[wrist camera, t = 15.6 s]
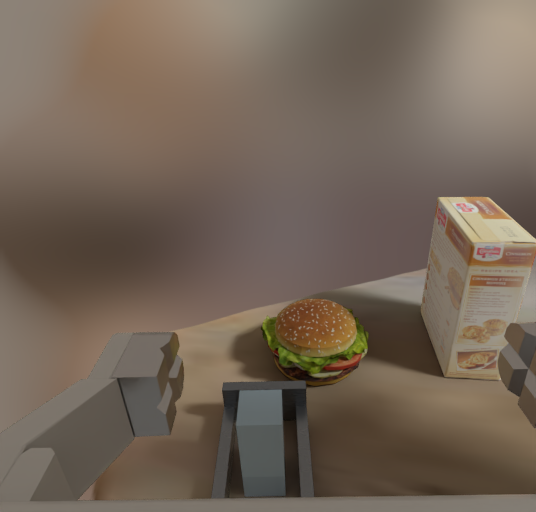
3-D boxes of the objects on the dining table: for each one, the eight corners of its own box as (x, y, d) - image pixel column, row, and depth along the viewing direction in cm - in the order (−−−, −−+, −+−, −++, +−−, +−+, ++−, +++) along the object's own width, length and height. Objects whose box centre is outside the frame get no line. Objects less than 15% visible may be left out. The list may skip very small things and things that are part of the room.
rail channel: (305, 411, 48) (305, 380, 46) (314, 522, 37) (315, 488, 34) (227, 413, 48) (223, 382, 46) (213, 523, 37) (206, 489, 35)
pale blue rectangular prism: (284, 458, 43) (281, 389, 38) (285, 495, 39) (282, 424, 34) (247, 459, 43) (239, 390, 38) (244, 496, 39) (236, 425, 35)
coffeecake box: (501, 381, 51) (542, 242, 42) (442, 378, 52) (470, 241, 43) (465, 312, 64) (490, 195, 55) (418, 311, 65) (435, 195, 56)
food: (339, 318, 64) (340, 275, 61) (381, 379, 52) (387, 330, 48) (255, 334, 62) (252, 290, 58) (279, 403, 49) (277, 353, 46)
